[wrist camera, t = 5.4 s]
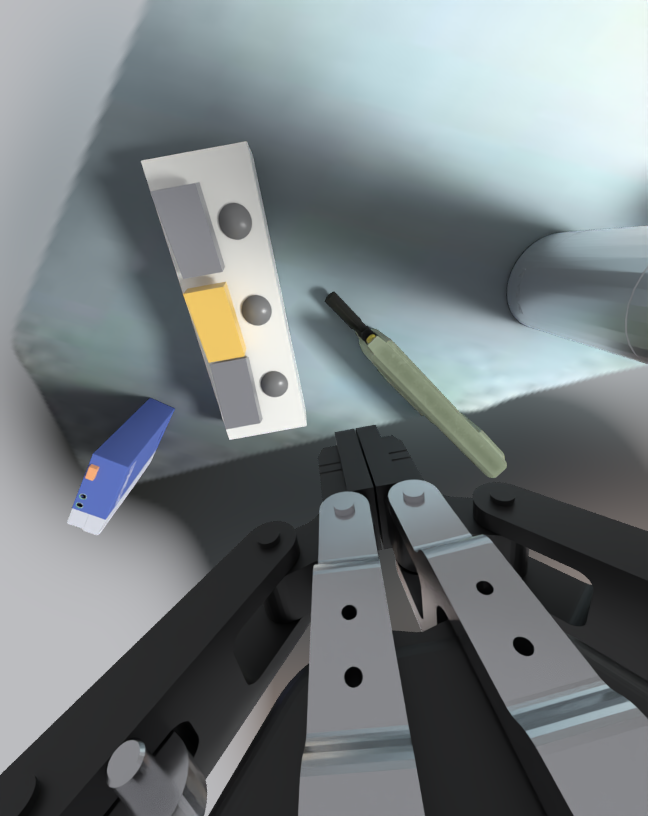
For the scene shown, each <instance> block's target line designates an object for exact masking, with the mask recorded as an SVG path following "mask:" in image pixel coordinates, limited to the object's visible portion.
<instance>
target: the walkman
mask: <svg viewBox="0 0 648 816" xmlns="http://www.w3.org/2000/svg"><path fill="white" fill-rule="evenodd" d="M174 410H175V409H174V408H172V407H170V406H168V405H165V404H163V403H161V402H159V401H156V400H154V399H152V398H149V399H148V400H147V401H146V402H145V403H144V404H143V405H142V406H141V407H140V408H139V409H138V410H137V411H136V412H135V413H134V414H133V415H132V416H131V417H130V418H129V419H128V420H127V421H126V422H125V423H124V424H123V425H122V426H121V427H120V428H119V429H118V430H117V431H116V432H115V433H114V434H113V435H112V436H111V437H110V438H109V439H107V440H106V441H105V442H104V443H103V444H102V445H101V446H100V447H99V448H98V449H97V450H96V451H95V452H94V453H93V455H92V457H91V460H90V463H89V465H88V468H87V470H86V473H85V476H84V478H83V481H82V483H81V486H80V489H79V491H78V494H77V497H76V499H75V502H74V504H73V507H72V511H71V513H70V516H69V518H68V521H67V524H70V525H73V526H76V527H79V528H82V529H83V531H86V532H89V533H92V534H95V535H98V534H100V533H101V531H102V530H103V529H104V527H105V526H106V524H107V523H108V522H109V520H110V519H111V517H112V516H113V514H114V513H115V511H116V510H117V508H118V507H119V506H120V505H121V504H122V502H123V501H124V499H125V498H126V496H127V495H128V494H129V492H130V491H131V489H132V488H133V487H134V485H135V484H136V482H137V481H138V479H139V478H140V477H141V475H142V474H143V472H144V471H145V469H146V468H147V467H148V465H149V464H150V462H151V460H152V458H153V456H154V454H155V451H156V449H157V447H158V445H159V443H160V440H161V438H162V436H163V434H164V432H165V429H166V427H167V425H168V423H169V421H170V418H171V416H172V414H173V412H174Z"/></svg>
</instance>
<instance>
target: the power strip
mask: <svg viewBox="0 0 648 816" xmlns="http://www.w3.org/2000/svg"><path fill="white" fill-rule="evenodd" d="M141 163H142V166H143V170H144V173H145V176H146V179H147V182H148V185H149V188H150V191H154V190H159V189H164V188H170V187H175V186H181V185H186V184H191V183H197V182H200V185H201V189H202V192H203V195H204V198H205V202H206V205H207V208H208V212H209V215H210V218H211V222H212V225H213V228H214V232H215V235H216V238H217V241H218V245H219V248H220V251H221V255H222V258H223V261H224V265H225V268H224V270H223V272H220V273H214V274H209V275H203V276H198V277H192V278H187V279H183V278H182V275H181V273H180V270H179V267H178V265H177V262H176V259H175V257H174V254H173V251H172V249H171V246H170V243H169V241H168V238H167V236H166V233H165V230H164V228H163V225H162V222H161V220H160V217H159V214H158V212H157V214H158V217H159V220H160V223H161V226H162V229H163V232H164V236H165V239H166V242H167V245H168V248H169V251H170V254H171V258H172V261H173V264H174V267H175V270H176V273H177V276H178V280H179V283H180V286H181V289H182V292H183V293H184V292H185V291H186V290H187V289H188V288H194V287H199V286H204V285H210V284H215V283H221V282H227V286H228V289H229V292H230V296H231V299H232V302H233V306H234V309H235V312H236V316H237V319H238V322H239V326H240V329H241V332H242V336H243V339H244V342H245V346H246V353H245V356H243V357H238V358H232V359H227V360H221V361H216V362H210V363H209V362H208V359H207V357H206V354H205V351H204V349H203V346H202V343H201V341H200V338H199V335H198V333H197V330H196V328H195V325H194V322H193V320H192V317H191V314H190V312H189V314H190V317H191V320H192V324H193V327H194V330H195V333H196V336H197V339H198V342H199V346H200V349H201V352H202V355H203V358H204V361H205V364H206V368H207V371H208V374H209V377H210V380H211V383H212V386H213V390H214V393H215V396H216V399H217V402H218V405H219V408H220V404H219V400H218V396H217V392H216V388H215V384H214V380H213V376H212V372H211V368H210V364H213V363H218V362H223V361H229V360H234V359H240V358H245V357H249V360H250V364H251V369H252V373H253V378H254V382H255V387H256V391H257V396H258V400H259V405H260V409H261V414H262V418H263V419H262V421H261V423H259V424H253V425H248V426H242V427H237V428H232V429H226V430H227V434H228V437H229V440H231V439H237V438H242V437H248V436H253V435H259V434H264V433H270V432H275V431H281V430H286V429H292V428H297V427H303V426H307V422H306V409H305V404H304V399H303V394H302V389H301V384H300V380H299V375H298V370H297V365H296V360H295V355H294V351H293V346H292V341H291V336H290V331H289V327H288V322H287V317H286V312H285V307H284V302H283V298H282V293H281V288H280V283H279V278H278V274H277V269H276V264H275V259H274V254H273V249H272V245H271V240H270V235H269V230H268V225H267V220H266V216H265V211H264V206H263V201H262V196H261V192H260V187H259V182H258V177H257V172H256V167H255V163H254V158H253V154H252V152H251V150H250V147H249V145H248V143H247V141H245V142H239V143H234V144H228V145H223V146H218V147H212V148H207V149H201V150H196V151H190V152H185V153H180V154H174V155H169V156H163V157H158V158H152V159H147V160H142V161H141ZM155 207H156V206H155ZM156 210H157V209H156ZM185 302H186V301H185ZM186 305H187V304H186ZM187 308H188V306H187ZM188 311H189V309H188ZM220 412H221V408H220ZM221 415H222V412H221ZM222 418H223V416H222ZM223 421H224V420H223Z"/></svg>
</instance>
